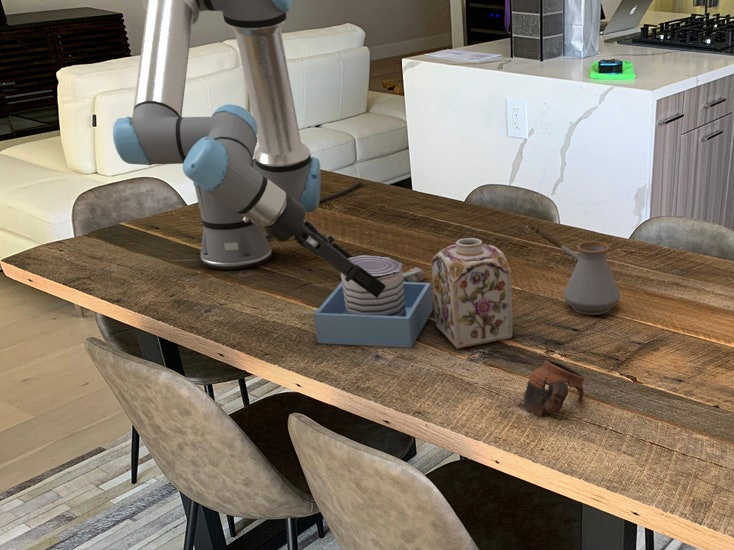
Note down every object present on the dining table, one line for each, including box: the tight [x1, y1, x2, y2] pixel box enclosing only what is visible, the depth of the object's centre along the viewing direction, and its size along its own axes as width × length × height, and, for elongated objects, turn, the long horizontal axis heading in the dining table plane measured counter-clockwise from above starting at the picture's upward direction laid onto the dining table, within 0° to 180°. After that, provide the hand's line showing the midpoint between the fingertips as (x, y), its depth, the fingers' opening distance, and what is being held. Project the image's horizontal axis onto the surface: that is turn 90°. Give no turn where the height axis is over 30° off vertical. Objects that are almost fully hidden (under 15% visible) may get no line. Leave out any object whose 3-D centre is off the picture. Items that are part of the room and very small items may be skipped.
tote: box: [313, 281, 434, 349], centre depth 166 cm, size 18×18×6 cm
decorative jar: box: [430, 237, 514, 350], centre depth 161 cm, size 12×12×18 cm
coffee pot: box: [524, 222, 621, 316], centre depth 175 cm, size 21×12×15 cm, turn 59°
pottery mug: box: [521, 359, 585, 417], centre depth 139 cm, size 12×10×8 cm
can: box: [340, 254, 406, 317], centre depth 164 cm, size 11×11×12 cm
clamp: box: [402, 266, 425, 283], centre depth 184 cm, size 15×2×10 cm
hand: (368, 279), depth 162 cm, fingers open, 13 cm apart
